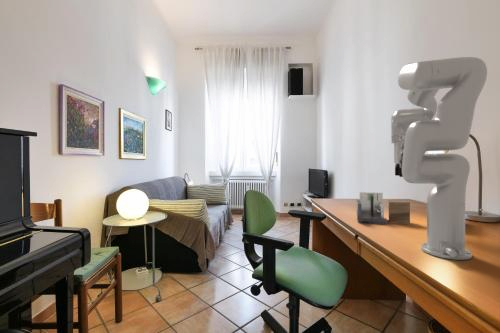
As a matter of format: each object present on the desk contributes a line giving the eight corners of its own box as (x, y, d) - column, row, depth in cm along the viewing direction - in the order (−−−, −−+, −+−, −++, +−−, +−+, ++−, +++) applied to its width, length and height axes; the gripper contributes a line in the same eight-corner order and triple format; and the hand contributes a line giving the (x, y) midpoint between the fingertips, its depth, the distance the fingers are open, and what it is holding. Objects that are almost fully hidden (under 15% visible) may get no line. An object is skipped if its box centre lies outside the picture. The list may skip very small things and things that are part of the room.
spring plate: (383, 219, 114) (383, 206, 114) (377, 218, 115) (377, 206, 115) (381, 215, 122) (381, 203, 122) (375, 214, 123) (375, 203, 123)
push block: (410, 224, 113) (409, 202, 112) (390, 222, 115) (390, 201, 115) (407, 221, 116) (407, 200, 116) (388, 220, 119) (388, 200, 119)
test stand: (386, 224, 113) (386, 196, 112) (358, 222, 117) (357, 195, 116) (382, 218, 124) (382, 192, 123) (356, 217, 128) (356, 192, 128)
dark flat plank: (373, 216, 122) (373, 196, 122) (371, 216, 122) (371, 196, 122) (373, 215, 124) (372, 196, 123) (371, 215, 124) (371, 195, 124)
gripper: (415, 137, 105) (415, 177, 106) (405, 140, 121) (406, 175, 122) (395, 138, 108) (395, 177, 108) (388, 141, 124) (388, 175, 124)
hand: (401, 176), depth 115 cm, fingers open, 9 cm apart
